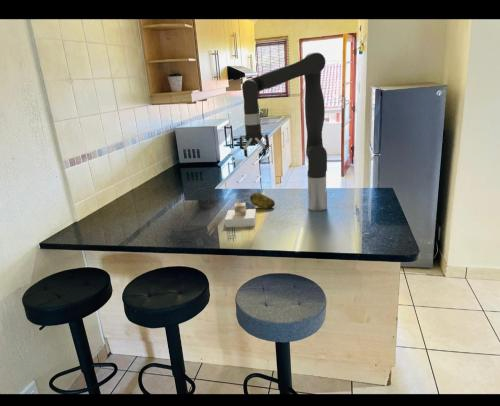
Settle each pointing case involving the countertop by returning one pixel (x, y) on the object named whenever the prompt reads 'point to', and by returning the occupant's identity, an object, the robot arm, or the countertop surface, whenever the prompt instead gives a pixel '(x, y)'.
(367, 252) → the countertop surface
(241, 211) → the birch block
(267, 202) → the potato
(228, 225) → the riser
